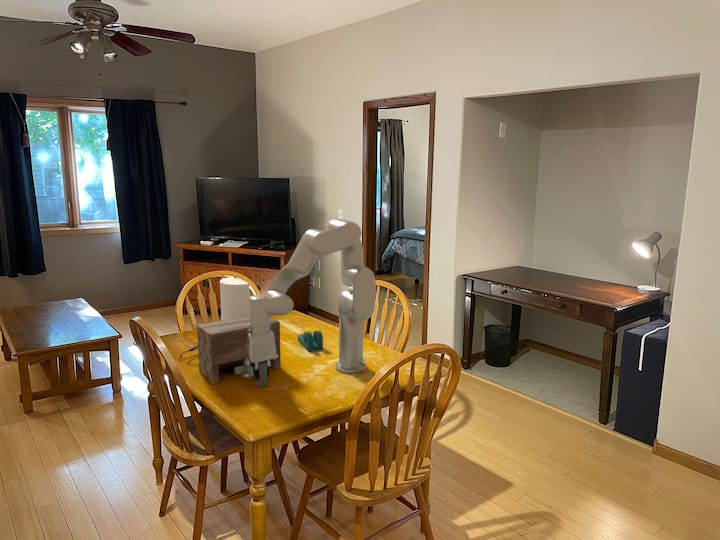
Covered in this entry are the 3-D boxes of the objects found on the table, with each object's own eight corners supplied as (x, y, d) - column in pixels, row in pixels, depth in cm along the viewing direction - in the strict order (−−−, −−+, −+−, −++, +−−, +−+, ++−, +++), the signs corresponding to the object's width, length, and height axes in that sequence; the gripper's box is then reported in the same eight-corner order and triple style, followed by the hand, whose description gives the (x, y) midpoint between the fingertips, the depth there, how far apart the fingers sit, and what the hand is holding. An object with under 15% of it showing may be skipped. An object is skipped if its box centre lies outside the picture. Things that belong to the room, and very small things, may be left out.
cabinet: (280, 367, 215) (279, 321, 211) (213, 383, 199) (210, 334, 195) (264, 356, 226) (263, 313, 222) (199, 371, 210) (196, 324, 206)
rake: (273, 384, 199) (273, 361, 197) (253, 389, 194) (252, 365, 192) (253, 369, 212) (253, 347, 211) (234, 373, 208) (233, 351, 206)
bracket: (322, 350, 235) (322, 333, 234) (308, 352, 232) (308, 334, 231) (309, 337, 251) (309, 321, 250) (295, 339, 249) (295, 323, 247)
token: (256, 376, 207) (256, 373, 206) (244, 379, 204) (244, 376, 203) (251, 371, 211) (251, 368, 210) (238, 374, 208) (238, 371, 207)
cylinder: (232, 349, 234) (230, 286, 229) (215, 338, 247) (213, 279, 242) (268, 341, 245) (266, 281, 239) (249, 331, 258) (248, 274, 252)
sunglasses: (216, 358, 224) (214, 347, 223) (190, 369, 216) (188, 358, 215) (202, 351, 231) (200, 341, 230) (177, 362, 223) (175, 351, 222)
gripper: (243, 336, 186) (245, 386, 190) (285, 328, 195) (286, 375, 199) (234, 330, 192) (236, 379, 195) (275, 322, 201) (276, 369, 205)
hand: (261, 377), depth 197 cm, fingers closed on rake, 3 cm apart
